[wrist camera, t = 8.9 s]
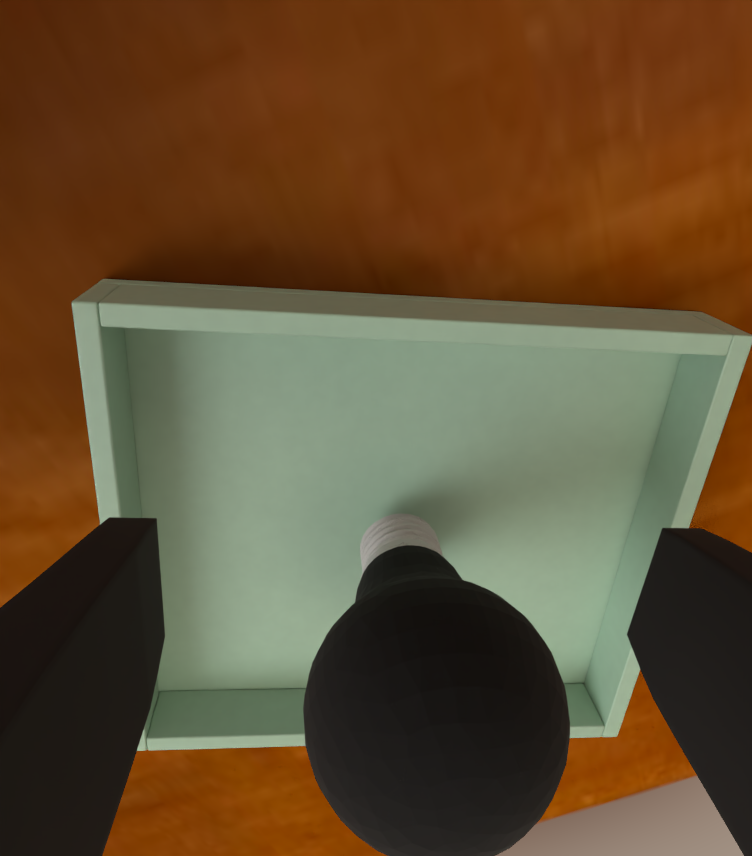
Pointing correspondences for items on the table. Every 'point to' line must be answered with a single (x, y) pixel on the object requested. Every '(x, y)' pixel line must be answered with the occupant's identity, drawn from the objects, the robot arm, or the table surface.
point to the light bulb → (433, 706)
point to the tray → (389, 472)
